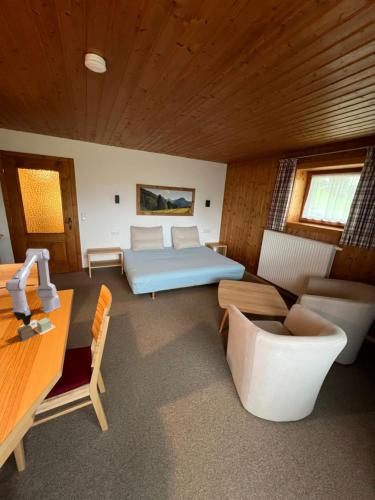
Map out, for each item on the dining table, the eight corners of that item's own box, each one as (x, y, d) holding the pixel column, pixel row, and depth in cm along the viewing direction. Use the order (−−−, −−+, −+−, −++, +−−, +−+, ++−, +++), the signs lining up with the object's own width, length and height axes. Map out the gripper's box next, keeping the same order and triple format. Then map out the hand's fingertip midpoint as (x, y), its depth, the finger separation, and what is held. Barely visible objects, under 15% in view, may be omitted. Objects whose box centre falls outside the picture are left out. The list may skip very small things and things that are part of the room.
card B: (48, 322, 122) (48, 322, 122) (55, 327, 118) (55, 326, 118) (33, 329, 115) (33, 329, 115) (41, 334, 111) (40, 334, 111)
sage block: (47, 324, 120) (46, 317, 118) (51, 327, 117) (50, 320, 116) (37, 329, 115) (36, 321, 114) (42, 332, 113) (41, 324, 112)
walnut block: (18, 336, 109) (16, 329, 107) (29, 331, 113) (27, 324, 111) (23, 340, 106) (21, 332, 105) (33, 334, 111) (32, 327, 109)
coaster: (30, 330, 114) (30, 329, 114) (37, 334, 111) (37, 334, 111) (16, 337, 109) (16, 336, 108) (22, 342, 105) (22, 341, 105)
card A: (35, 319, 123) (35, 319, 123) (41, 324, 120) (41, 323, 120) (19, 326, 117) (19, 326, 117) (26, 331, 113) (26, 331, 113)
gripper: (3, 299, 103) (8, 321, 107) (16, 308, 97) (21, 331, 101) (19, 293, 109) (24, 314, 113) (33, 301, 103) (37, 323, 107)
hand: (23, 322), depth 107 cm, fingers open, 7 cm apart
